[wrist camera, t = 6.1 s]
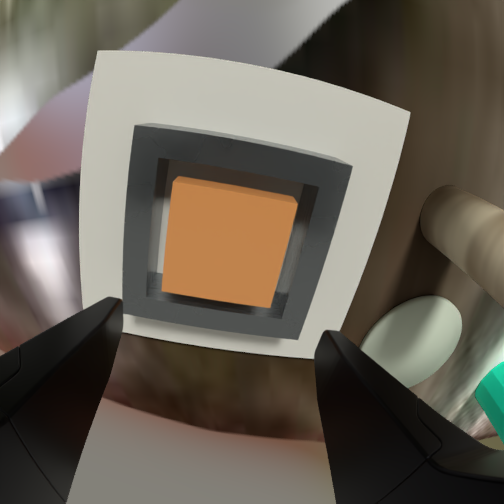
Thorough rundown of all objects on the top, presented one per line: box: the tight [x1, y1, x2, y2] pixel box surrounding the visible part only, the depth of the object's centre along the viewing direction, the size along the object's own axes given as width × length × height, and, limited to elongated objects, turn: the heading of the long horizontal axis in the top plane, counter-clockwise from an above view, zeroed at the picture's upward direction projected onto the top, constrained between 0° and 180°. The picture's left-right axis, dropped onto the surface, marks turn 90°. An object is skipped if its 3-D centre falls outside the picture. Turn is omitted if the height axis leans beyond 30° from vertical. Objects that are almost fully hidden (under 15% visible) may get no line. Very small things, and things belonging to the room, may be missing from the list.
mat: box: [359, 295, 462, 388], centre depth 21 cm, size 9×9×1 cm
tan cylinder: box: [420, 185, 504, 308], centre depth 13 cm, size 4×4×10 cm
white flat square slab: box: [79, 51, 411, 359], centre depth 15 cm, size 16×16×3 cm
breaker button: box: [161, 176, 298, 308], centre depth 14 cm, size 5×5×1 cm
